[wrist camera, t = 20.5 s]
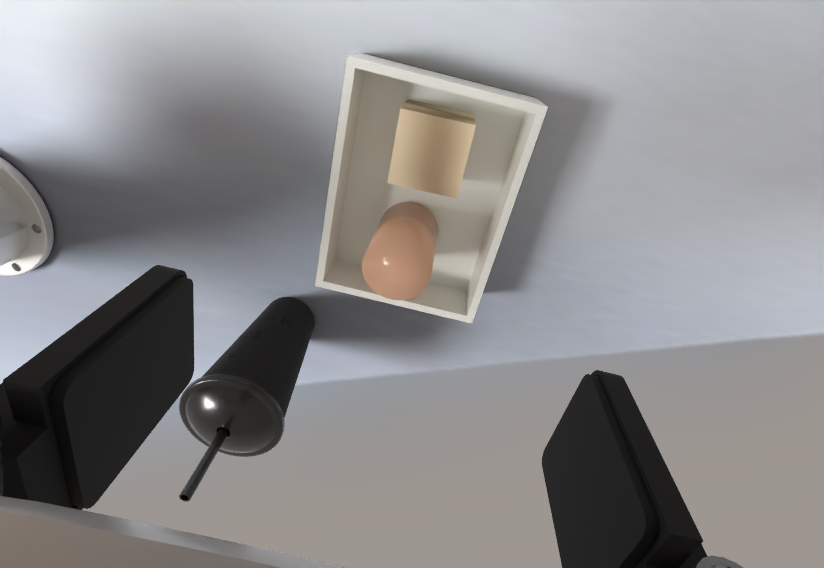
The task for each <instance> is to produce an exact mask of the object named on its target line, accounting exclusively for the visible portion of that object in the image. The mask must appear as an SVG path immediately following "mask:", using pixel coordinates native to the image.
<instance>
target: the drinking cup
mask: <svg viewBox="0 0 824 568" xmlns="http://www.w3.org/2000/svg"><path fill="white" fill-rule="evenodd" d="M314 323H315V320H314V316H313V313H312V312H311V310H310V309H309V307H308V306H307V305H305V304H304V303H303V302H301V301H299V300H297V299H294V298H279V299H277V300H275V301H273V302H272V303H271V304H270V305H269V306H268V307H267V308H266V309H265V310H264V311H263V312H262V313H261V314H260V316H259V317H258V318H257V319H256V320H255V321H254V322H253V323H252V324H251V325H250V326H249V327H248V328H247V329H246V330H245V332H244V333H243V334H242V335H241V336H240V337H239V338H238V339H237V340H236V341H235V342H234V343H233V344H232V345H231V346H230V348H229V349H228V350H227V351H226V352H225V353H224V354H223V355H222V356H221V357H220V358H219V359H218V360H217V361H216V362H215V364H214V365H213V366H212V367H211V368H210V369H209V370H208V371H207V372H206V373H205V374H204V375H203V376H202V377H201V378H199V379H197V380H195V381H194V382H192V383H191V384H190V385H189V386H188V387H187V388H186V390H185V391H184V392H183V394H182V396H181V399H180V405H179V410H180V415H181V418H182V421H183V423H184V424H185V426H186V427H187V429H188V430H189V431H190V433H191V434H192V435H193V436H194V437H195V438H197V439H198V440H199V441H200V442H202V443H203V444H205V445H206V446H208V447H209V448H208V449H207V451H206V452H205V454H204V456H203V457H202V459H201V461H200V462H199V464H198V466H197V467H196V469H195V471H194V472H193V474H192V476H191V477H190V479H189V480H188V482H187V484H186V485H185V487H184V489H183V490H182V492H181V494H180V495H179V497H180V499H181V500H183V501H189V500H190V499H191V497H192V495H193V494H194V492H195V490H196V488H197V487H198V485H199V483H200V482H201V480H202V478H203V477H204V475H205V473H206V471H207V470H208V468H209V466H210V464H211V463H212V461H213V459H214V458H215V455H216V454H217V452H218V451H219V452H221V453H224V454H228V455H233V456H241V457H248V456H256V455H260V454H263V453H266V452H268V451H269V450H271V449H272V448H273V447H275V446H276V444H278V442H279V441H280V439H281V437H282V435H283V432H284V426H285V425H284V424H285V423H284V417H285V414H286V411H287V408H288V405H289V402H290V399H291V395H292V393H293V390H294V387H295V383H296V380H297V377H298V374H299V371H300V368H301V365H302V362H303V359H304V356H305V353H306V350H307V346H308V343H309V340H310V337H311V334H312V331H313V328H314Z"/></svg>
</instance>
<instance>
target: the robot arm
mask: <svg viewBox="0 0 824 568" xmlns="http://www.w3.org/2000/svg"><path fill="white" fill-rule="evenodd" d="M53 239H54V233H53V225H52V222H51V218H50V215H49V212H48V210H47V208H46V206H45V204H44V202H43V200H42V198H41V197H40V195H39V194H38V193H37V191H36V190H35V188H34V187H33V186H32V184H31V183H30V182H29V181H28V180H27V179H26V178H25V177H24V176H23V175H22V174H21V173H20V172H19V171H18V170H17V169H16V168H14V167H13V166H12V165H11V164H10V163H8V162H7V161H5V160H4V159H2V158H1V157H0V275H2V276H16V275H20V274H24V273H27V272H29V271H31V270H33V269H35V268H37V267H38V266H39V265H41V264H42V263H44V261H45V260H46V259H47V258H48V256H49V255H50V252H51V250H52V247H53ZM193 372H194V314H193V282H192V280H191V279H188V278H187V275H186V273H185V272H184V271H182V270H178V269H174V268H169V267H165V266H161V265H156V266H154V267H153V268H151V269H150V270H149V271H147V272H146V273H145V274H143V275H142V276H141V277H139V278H138V279H137V280H135V281H134V282H133V283H131V284H130V285H129V286H127V287H126V288H125V289H123V290H122V291H121V292H119V293H118V294H117V295H115V296H114V297H113V298H111V299H110V300H109V301H107V302H106V303H105V304H103V305H102V306H101V307H99V308H98V309H97V310H95V311H94V312H93V313H91V314H90V315H89V316H88V317H86V318H85V319H84V320H82V321H81V322H80V323H78V324H77V325H76V326H74V327H73V328H72V329H70V330H69V331H68V332H66V333H65V334H64V335H62V336H61V337H60V338H58V339H57V340H56V341H54V342H53V343H52V344H50V345H49V346H48V347H46V348H45V349H44V350H42V351H41V352H40V353H38V354H37V355H36V356H34V357H33V358H32V359H30V360H29V361H28V362H26V363H25V364H24V365H22V366H21V367H20V368H18V369H17V370H16V371H14V372H13V373H12V374H11V375H9V376H8V377H7V378H5V379H4V380H3V383H2V384H0V568H348V567H343V566H339V565H334V564H329V563H325V562H321V561H316V560H312V559H307V558H303V557H298V556H294V555H289V554H285V553H280V552H276V551H271V550H267V549H262V548H258V547H253V546H248V545H243V544H239V543H234V542H229V541H225V540H221V539H215V538H211V537H206V536H202V535H197V534H193V533H188V532H184V531H178V530H174V529H169V528H165V527H161V526H155V525H151V524H147V523H142V522H137V521H132V520H128V519H123V518H118V517H113V516H108V515H103V514H98V513H93V512H88V511H83V510H82V509H83V508H86V509H88V508H91V507H92V506H93V505H94V504H95V503H96V502H97V501H98V500H99V498H100V497H101V496H102V495H103V493H104V492H105V491H106V489H107V488H108V487H109V486H110V484H111V483H112V482H113V480H114V479H115V478H116V477H117V475H118V474H119V473H120V471H121V470H122V469H123V468H124V466H125V465H126V464H127V462H128V461H129V460H130V458H131V457H132V456H133V455H134V453H135V452H136V450H137V449H138V448H139V447H140V446H141V444H142V443H143V442H144V440H145V439H146V438H147V436H148V435H149V434H150V433H151V431H152V430H153V429H154V428H155V426H156V425H157V424H158V422H159V421H160V420H161V419H162V417H163V416H164V415H165V413H166V412H167V410H169V408H170V407H171V406H172V404H173V403H174V402H175V401H176V399H177V398H178V397H179V395H180V394H181V393H182V392H183V390H184V389H185V388H186V386H187V385H188V384H189V382H190V380H191V378H192V376H193ZM542 467H543V472H544V477H545V482H546V487H547V493H548V498H549V503H550V508H551V513H552V517H553V523H554V528H555V532H556V538H557V543H558V548H559V553H560V558H561V563H562V568H743V567H741V566H740V565H738V564H737V563H735V562H733V561H730V560H728V559H725V558H723V557H716V556H708V557H707V555H706V553H705V551H704V549H703V547H702V544H701V543H702V542H703V540H702V538H701V535H700V533H699V531H698V529H697V527H696V525H695V523H694V521H693V519H692V517H691V515H690V513H689V511H688V509H687V507H686V505H685V503H684V501H683V499H682V497H681V495H680V492H679V490H678V488H677V486H676V484H675V482H674V480H673V478H672V476H671V474H670V472H669V470H668V468H667V466H666V464H665V462H664V460H663V458H662V456H661V454H660V452H659V450H658V447H657V446H656V443H655V441H654V439H653V437H652V436H651V433H650V431H649V429H648V427H647V425H646V423H645V421H644V419H643V417H642V415H641V413H640V411H639V409H638V406H637V405H636V402H635V400H634V399H633V396H632V394H631V392H630V390H629V388H628V386H627V384H626V382H625V380H624V378H623V377H622V376H619V375H615V374H611V373H607V372H603V371H599V370H596V371H594V372H593V373H592V374H591V375H589V374H587V375H585V376H584V378H583V379H582V381H581V382H580V384H579V386H578V388H577V390H576V392H575V394H574V395H573V397H572V399H571V401H570V403H569V405H568V407H567V409H566V410H565V412H564V414H563V416H562V418H561V420H560V422H559V424H558V425H557V427H556V429H555V431H554V433H553V435H552V437H551V439H550V440H549V442H548V444H547V446H546V448H545V450H544V453H543V457H542Z"/></svg>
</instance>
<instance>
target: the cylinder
mask: <svg viewBox="0 0 824 568" xmlns="http://www.w3.org/2000/svg"><path fill="white" fill-rule="evenodd" d="M438 231H439V230H438V224H437V221H436V219H435V217H434V215H433V214H432V213H431V212H430V211H429V210H428V209H427V208H425V207H424V206H422V205H420V204H417V203H413V202H402V203H398V204H395V205H393V206H392V207H390V208H389V209H388V210H387V211H386V212H385V213H384V215H383V216H382V218H381V220H380V223H379V225H378V227H377V229H376V231H375V233H374V236H373V238H372V240H371V242H370V244H369V247H368V249H367V251H366V253H365V255H364V258H363V261H362V273H363V276H364V279H365V281H366V283H367V284H368V285H369V287H370V288H371V289H372V290H373V291H374V292H376V293H377V294H379V295H381V296H383V297H385V298H388V299H392V300H407V299H411V298H413V297H416V296H417V295H419V294H420V293H422V292H423V291H424V290H425V289H426V287H427V286H428V284H429V282H430V278H431V273H432V267H433V262H434V256H435V250H436V244H437V239H438Z"/></svg>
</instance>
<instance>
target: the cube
mask: <svg viewBox="0 0 824 568" xmlns="http://www.w3.org/2000/svg"><path fill="white" fill-rule="evenodd" d="M475 128H476V122H475V118H474V114H471V113H467V112H463V111H458V110H454V109H449V108H445V107H440V106H436V105H432V104H427V103H423V102H418V101H414V100H409V99H407V101H406V102H405V103H404V104H403V106H402V107H401V108H400V113H399V118H398V124H397V130H396V135H395V141H394V147H393V152H392V158H391V164H390V169H389V175H388V181H387V183H389V184H393V185H398V186H402V187H407V188H411V189H416V190H420V191H425V192H429V193H434V194H438V195H443V196H447V197H452V198H456V199H457V198H458V194H459V190H460V186H461V182H462V178H463V174H464V170H465V167H466V163H467V159H468V155H469V151H470V147H471V143H472V139H473V136H474V132H475Z"/></svg>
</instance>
